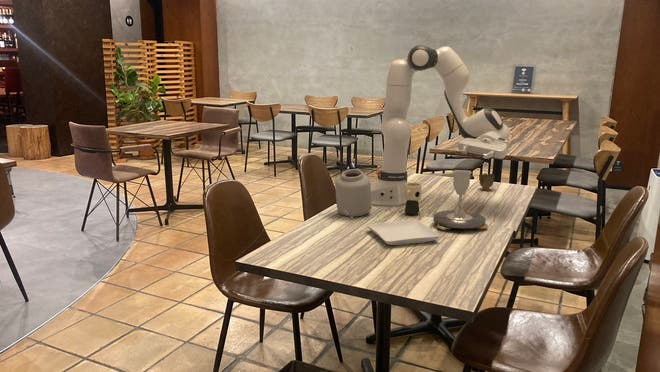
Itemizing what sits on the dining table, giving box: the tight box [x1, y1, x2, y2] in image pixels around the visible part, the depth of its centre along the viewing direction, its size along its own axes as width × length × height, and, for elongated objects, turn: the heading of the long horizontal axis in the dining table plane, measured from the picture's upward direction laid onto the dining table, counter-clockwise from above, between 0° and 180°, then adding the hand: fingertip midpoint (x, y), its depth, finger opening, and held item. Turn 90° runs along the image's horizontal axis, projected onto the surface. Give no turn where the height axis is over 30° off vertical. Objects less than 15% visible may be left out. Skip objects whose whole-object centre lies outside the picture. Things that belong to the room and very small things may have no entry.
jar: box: [334, 162, 373, 218], centre depth 231 cm, size 19×15×25 cm
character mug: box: [404, 182, 422, 216], centre depth 234 cm, size 11×7×13 cm, turn 149°
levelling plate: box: [433, 209, 489, 231], centre depth 219 cm, size 20×21×4 cm
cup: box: [478, 173, 495, 192], centre depth 276 cm, size 8×7×8 cm
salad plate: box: [366, 219, 441, 246], centre depth 205 cm, size 21×21×3 cm
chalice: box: [451, 169, 472, 218], centre depth 216 cm, size 7×7×18 cm
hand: (474, 154), depth 226 cm, fingers open, 8 cm apart
